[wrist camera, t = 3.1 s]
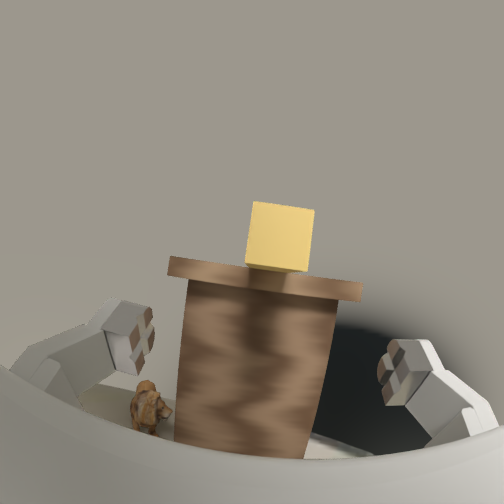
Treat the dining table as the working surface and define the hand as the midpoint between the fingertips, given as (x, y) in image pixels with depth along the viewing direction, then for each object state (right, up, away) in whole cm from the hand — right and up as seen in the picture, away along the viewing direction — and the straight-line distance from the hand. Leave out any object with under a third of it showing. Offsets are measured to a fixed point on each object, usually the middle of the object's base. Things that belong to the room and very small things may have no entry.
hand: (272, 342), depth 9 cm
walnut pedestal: (-3, -25, +18) cm, 31 cm away
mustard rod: (+1, +1, +16) cm, 17 cm away
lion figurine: (-16, -24, +25) cm, 38 cm away
